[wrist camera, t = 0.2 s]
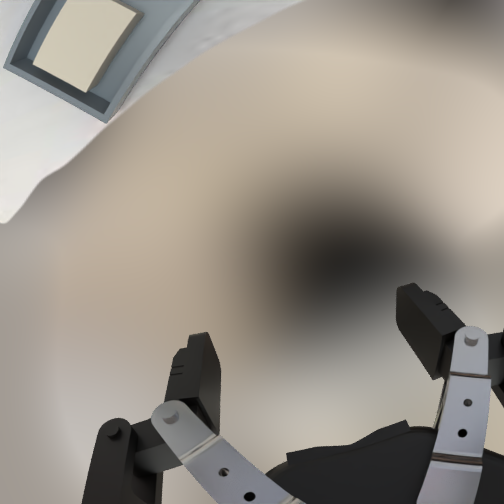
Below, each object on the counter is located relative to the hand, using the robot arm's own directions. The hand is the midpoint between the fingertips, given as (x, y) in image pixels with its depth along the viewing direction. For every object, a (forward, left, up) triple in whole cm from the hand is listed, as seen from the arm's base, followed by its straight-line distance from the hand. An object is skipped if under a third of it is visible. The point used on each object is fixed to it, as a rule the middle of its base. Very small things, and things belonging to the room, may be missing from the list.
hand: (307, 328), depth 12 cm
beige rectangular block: (-20, -2, -30) cm, 36 cm away
